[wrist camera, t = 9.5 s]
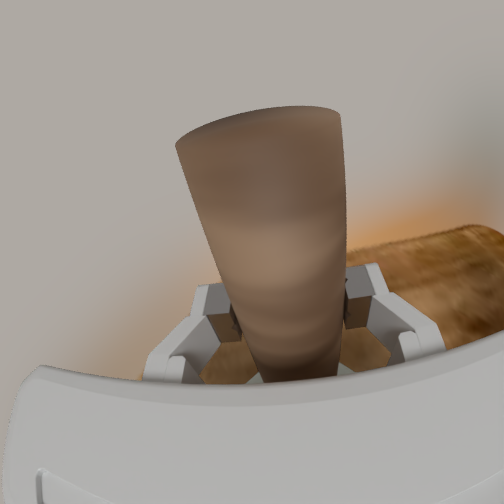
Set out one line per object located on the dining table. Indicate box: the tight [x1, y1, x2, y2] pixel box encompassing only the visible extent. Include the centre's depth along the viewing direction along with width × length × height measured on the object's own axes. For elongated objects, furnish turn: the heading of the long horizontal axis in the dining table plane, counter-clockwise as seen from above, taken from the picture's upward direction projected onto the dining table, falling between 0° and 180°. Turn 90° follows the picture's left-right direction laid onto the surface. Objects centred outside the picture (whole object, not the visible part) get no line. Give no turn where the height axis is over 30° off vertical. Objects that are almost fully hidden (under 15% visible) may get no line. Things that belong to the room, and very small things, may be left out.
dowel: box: [175, 106, 346, 383], centre depth 11 cm, size 4×4×16 cm
